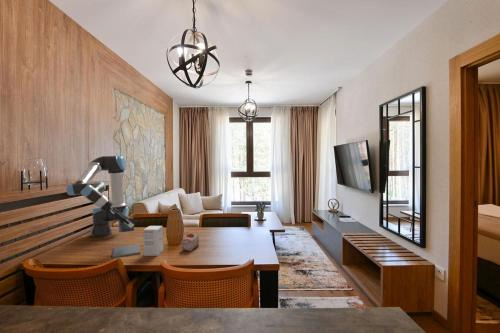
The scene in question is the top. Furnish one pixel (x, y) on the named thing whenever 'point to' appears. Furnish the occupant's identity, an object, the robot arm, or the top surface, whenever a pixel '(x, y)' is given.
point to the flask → (124, 227)
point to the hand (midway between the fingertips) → (132, 225)
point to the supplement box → (153, 240)
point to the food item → (190, 242)
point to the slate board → (126, 250)
